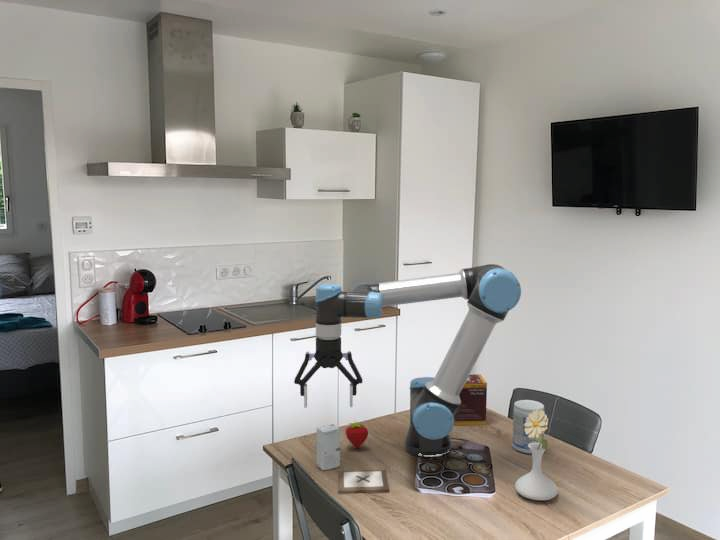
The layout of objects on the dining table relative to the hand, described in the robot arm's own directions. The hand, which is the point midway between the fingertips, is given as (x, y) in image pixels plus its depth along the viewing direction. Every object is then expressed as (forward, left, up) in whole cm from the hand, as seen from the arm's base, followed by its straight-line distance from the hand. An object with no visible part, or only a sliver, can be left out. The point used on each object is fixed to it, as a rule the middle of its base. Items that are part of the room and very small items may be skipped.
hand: (328, 405), depth 180 cm
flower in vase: (-57, +21, -19) cm, 63 cm away
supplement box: (-48, -34, -19) cm, 62 cm away
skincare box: (0, 0, -19) cm, 19 cm away
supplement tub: (-64, -9, -19) cm, 67 cm away
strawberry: (-9, -12, -19) cm, 24 cm away
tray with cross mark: (-10, +11, -19) cm, 24 cm away
